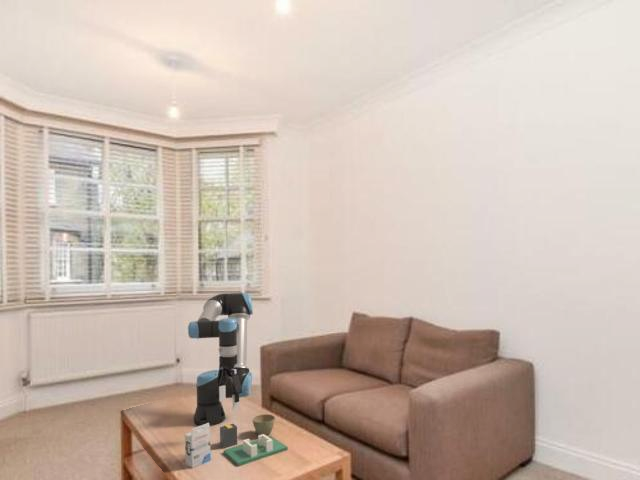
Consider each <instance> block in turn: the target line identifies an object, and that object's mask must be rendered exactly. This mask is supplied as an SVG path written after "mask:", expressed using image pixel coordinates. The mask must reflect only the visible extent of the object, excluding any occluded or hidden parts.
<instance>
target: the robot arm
mask: <svg viewBox="0 0 640 480" xmlns="http://www.w3.org/2000/svg"><path fill="white" fill-rule="evenodd" d="M251 297H252V296H251V294H250V293H249V292H238V293H237V292H235V293H233V292H232V293H231V292H230V293H220V294H216V295H214V296H212V297H211V298H209V299H207V301H206V302H205V303H204V305H203V308H202V312H201V314H200V316H199V317H198V319H197V320H194V321H190V322H189V323H188V326H187V334H188V338H189V339H197V340H198V339H211V338H213V339H216V338H218V353H219V357H218V362H219V363H218V365H219V366H218V369H211V370H207V371H204V372H201V373H200V374H198V375H197V377H196V386H195V387H196V408H195V412H194V415H193V424H194V425H195V426H201V425H204V424H206V423H209V427H210V426H215V425H218V424H219V425H220V424H221V423H223V422H224V421H225V420H226V412H225V410H224V407H223V404H222V402H225V401H227V399H230V398H231V399H232V411H236V410H237V411H238V410H240V398H245V397H249V395H250V393H251V390H252V389H251V388H252V382H253V373H252V372H251V371H250V368H249V367H248V365H247V355H248V354H247V348H248V347H247V346H248V343H247V342H248V339H247V338H248V320H249V319H250V318H251V315H253V314H254V312H253V303H252V298H251ZM219 316H227V317H226V318H220V319H219V320H217V318H218V317H219Z"/></svg>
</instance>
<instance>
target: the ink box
mask: <svg viewBox="0 0 640 480" xmlns="http://www.w3.org/2000/svg"><path fill="white" fill-rule="evenodd" d="M184 452H185V454H184V455H185V456H184V457H185V466H188V467H190V468H192V469H194V468H196V467H198V466H200V465H202V464H205V463H207V462H209V461H211V430H210V426H209V423H206V424H204V425H201V426H199V425H197V426H196V427H193V428H191V431H189V432H188V433H185V434H184Z"/></svg>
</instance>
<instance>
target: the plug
mask: <svg viewBox="0 0 640 480" xmlns="http://www.w3.org/2000/svg"><path fill="white" fill-rule="evenodd" d="M219 438H220V439H219V442H220V447H222V448H223V449H228V448H232V447H235V446H238V426H237V425H236V424H234V423H227V424H224V426H220V427H219Z"/></svg>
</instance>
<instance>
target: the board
mask: <svg viewBox="0 0 640 480" xmlns="http://www.w3.org/2000/svg"><path fill="white" fill-rule="evenodd" d="M288 448H289V447H288V446H287V445H286V444H284V443H283V442H281V441H279V440H278V439H276V438H275V437H273V436H272V435H270V436H269V435H268V436H266V435H264V434H262V435H257V439H256V440H252V441H251V439H250V438H247V439H243V440H242V444H240V445H235V446H231V447H228V448H225V449H223V454H224V455H225V456H226V457H227V458H228V459H229V460H231V462H233V463H234V464H235V465H236V466H237V467H240V466H243V465H246V464H249V463H251V462H255V461H258V460H261V459H263V458H267V457H270V456H274V455H276V454H279V453H283V452H284V451H285V452H286V451H288Z"/></svg>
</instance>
